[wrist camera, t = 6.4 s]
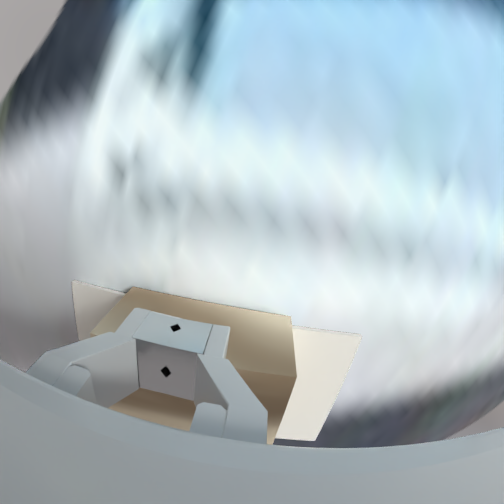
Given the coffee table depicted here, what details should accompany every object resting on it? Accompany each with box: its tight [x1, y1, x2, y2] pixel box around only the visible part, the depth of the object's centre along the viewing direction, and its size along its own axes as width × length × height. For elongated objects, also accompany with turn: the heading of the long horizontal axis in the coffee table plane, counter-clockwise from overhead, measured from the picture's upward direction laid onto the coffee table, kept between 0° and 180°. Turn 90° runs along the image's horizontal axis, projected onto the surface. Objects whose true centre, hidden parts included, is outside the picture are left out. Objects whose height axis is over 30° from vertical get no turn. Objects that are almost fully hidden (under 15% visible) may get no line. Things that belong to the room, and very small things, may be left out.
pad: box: [72, 280, 362, 441], centre depth 16 cm, size 9×16×1 cm, turn 81°
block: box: [90, 287, 297, 445], centre depth 14 cm, size 4×8×8 cm
